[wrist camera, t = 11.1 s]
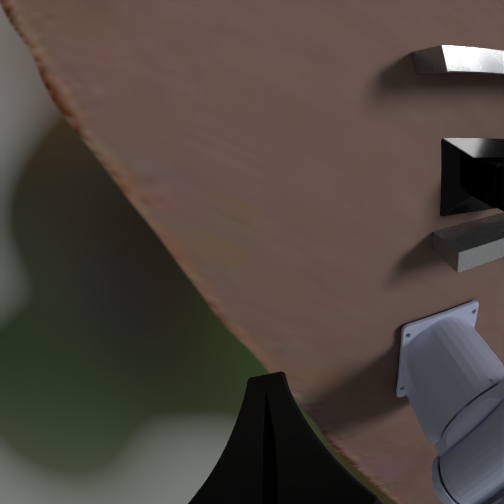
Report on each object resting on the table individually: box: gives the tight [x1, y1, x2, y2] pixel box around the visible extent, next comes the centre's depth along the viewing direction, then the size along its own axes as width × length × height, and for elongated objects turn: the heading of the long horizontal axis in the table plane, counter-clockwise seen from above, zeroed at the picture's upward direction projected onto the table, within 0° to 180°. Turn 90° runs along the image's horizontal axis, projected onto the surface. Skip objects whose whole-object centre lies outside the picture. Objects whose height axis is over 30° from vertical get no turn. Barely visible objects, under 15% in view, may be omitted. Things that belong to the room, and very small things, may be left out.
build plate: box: [440, 138, 504, 216], centre depth 17 cm, size 12×7×5 cm, turn 99°
